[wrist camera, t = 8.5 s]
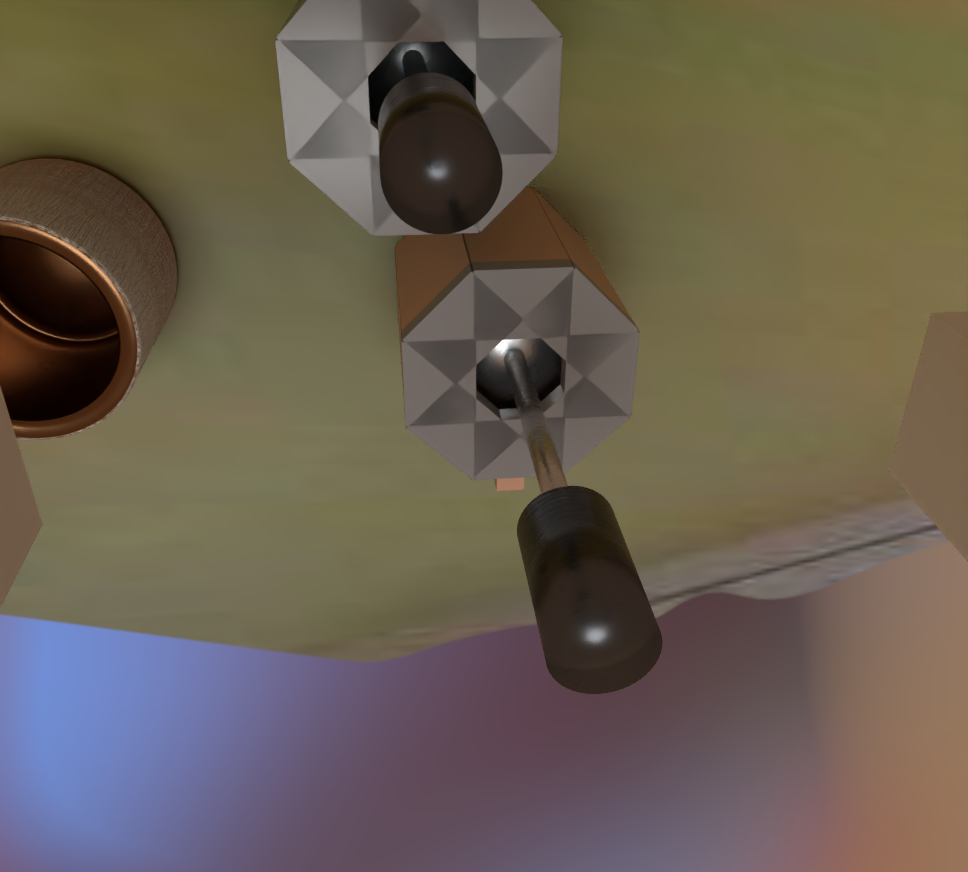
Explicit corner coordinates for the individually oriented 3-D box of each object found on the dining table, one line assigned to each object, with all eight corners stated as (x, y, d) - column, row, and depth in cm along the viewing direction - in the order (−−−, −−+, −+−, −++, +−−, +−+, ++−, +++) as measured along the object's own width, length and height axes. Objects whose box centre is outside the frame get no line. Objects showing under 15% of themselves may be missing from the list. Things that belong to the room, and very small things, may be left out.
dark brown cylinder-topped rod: (317, -38, 40) (279, 18, 23) (500, -39, 41) (593, 15, 24) (331, 149, 44) (308, 314, 27) (497, 145, 45) (576, 303, 28)
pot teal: (284, -135, 40) (256, -142, 30) (520, -133, 41) (570, -139, 31) (311, 161, 47) (295, 238, 37) (514, 156, 48) (554, 230, 38)
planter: (-80, 176, 45) (-179, 240, 37) (138, 135, 45) (87, 190, 37) (14, 370, 51) (-54, 462, 43) (207, 333, 51) (176, 418, 43)
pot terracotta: (392, 190, 48) (398, 273, 38) (588, 185, 49) (646, 264, 39) (402, 405, 55) (410, 525, 44) (575, 397, 56) (621, 512, 45)
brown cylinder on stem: (425, 275, 41) (464, 549, 24) (602, 268, 42) (760, 530, 25) (429, 430, 45) (466, 757, 28) (590, 422, 46) (720, 736, 29)
